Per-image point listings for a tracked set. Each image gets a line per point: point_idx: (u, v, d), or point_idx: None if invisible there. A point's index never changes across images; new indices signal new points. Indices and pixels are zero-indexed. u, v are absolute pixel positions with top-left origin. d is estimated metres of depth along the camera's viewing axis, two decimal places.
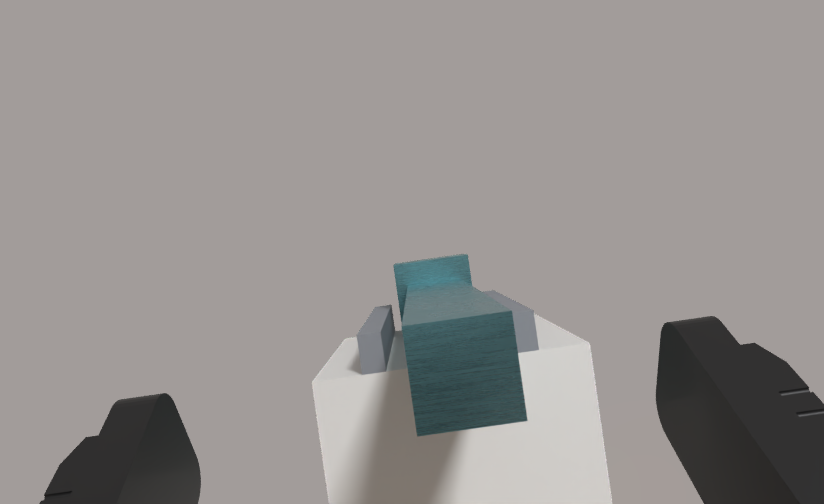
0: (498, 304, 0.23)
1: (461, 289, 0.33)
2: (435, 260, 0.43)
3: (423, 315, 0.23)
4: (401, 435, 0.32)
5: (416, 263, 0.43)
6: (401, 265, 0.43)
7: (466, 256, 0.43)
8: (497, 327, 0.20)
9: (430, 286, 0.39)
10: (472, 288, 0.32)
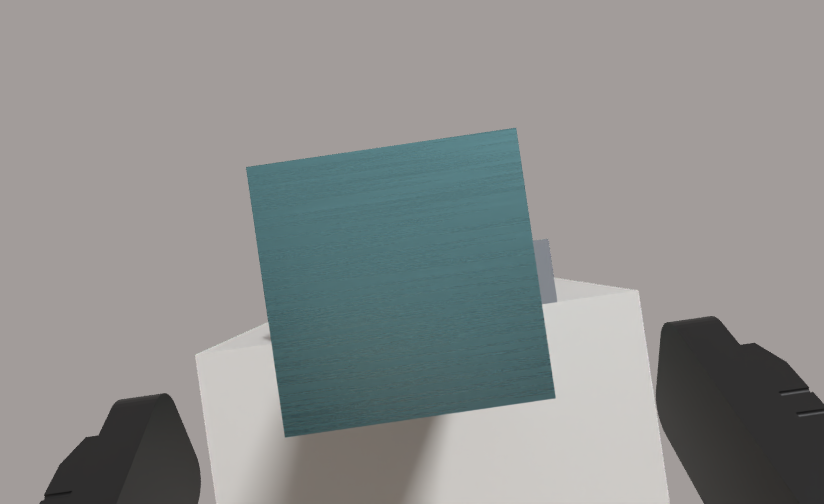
0: None
1: None
2: None
3: None
4: (338, 438, 0.20)
5: None
6: None
7: None
8: (480, 169, 0.08)
9: None
10: None
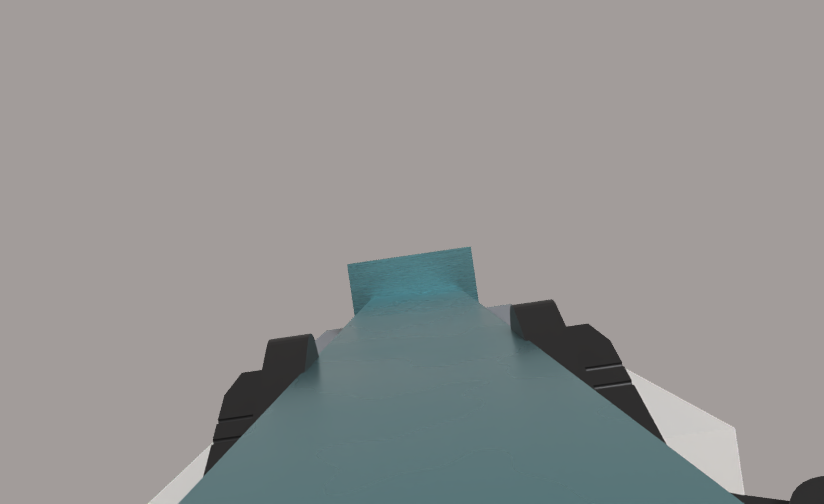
0: (607, 410, 0.05)
1: (459, 312, 0.15)
2: (417, 256, 0.26)
3: (294, 459, 0.05)
4: None
5: (385, 261, 0.26)
6: (360, 265, 0.26)
7: (468, 249, 0.26)
8: None
9: (404, 301, 0.22)
10: (482, 311, 0.15)
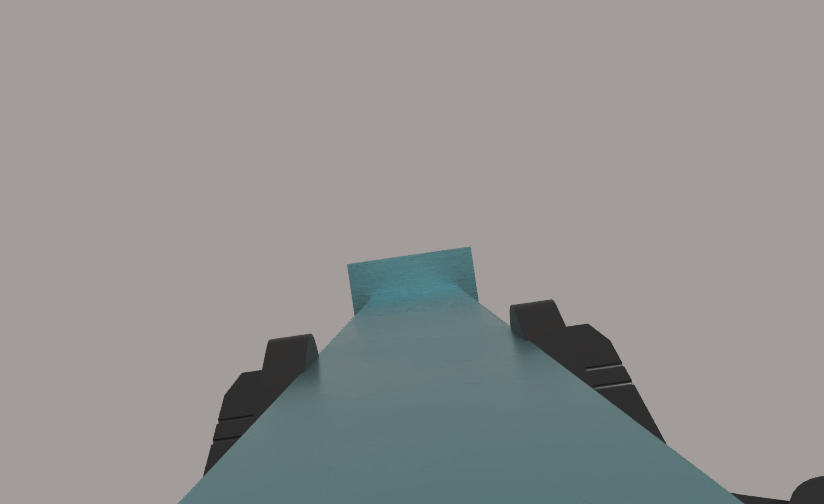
0: (607, 410, 0.06)
1: (459, 312, 0.15)
2: (417, 256, 0.26)
3: (294, 459, 0.05)
4: None
5: (385, 261, 0.26)
6: (360, 265, 0.26)
7: (468, 249, 0.26)
8: None
9: (404, 301, 0.22)
10: (482, 311, 0.15)
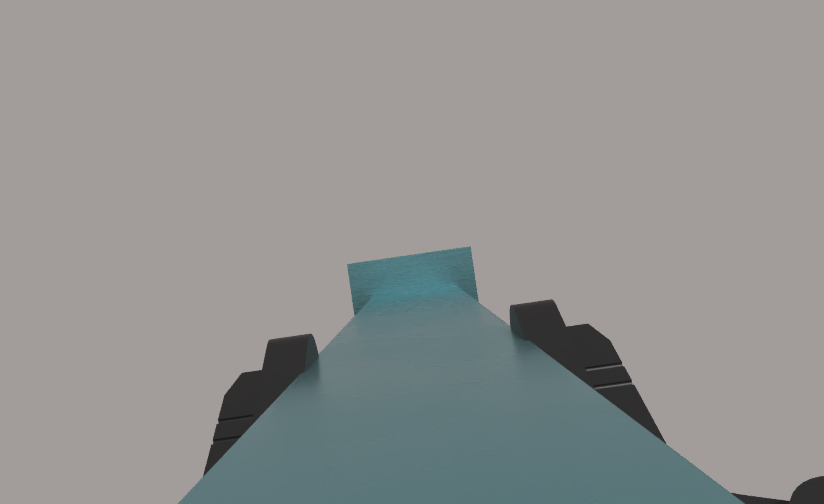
0: (607, 411, 0.06)
1: (459, 312, 0.15)
2: (417, 256, 0.26)
3: (294, 460, 0.05)
4: None
5: (385, 261, 0.26)
6: (360, 264, 0.26)
7: (468, 249, 0.26)
8: None
9: (404, 301, 0.22)
10: (482, 311, 0.15)
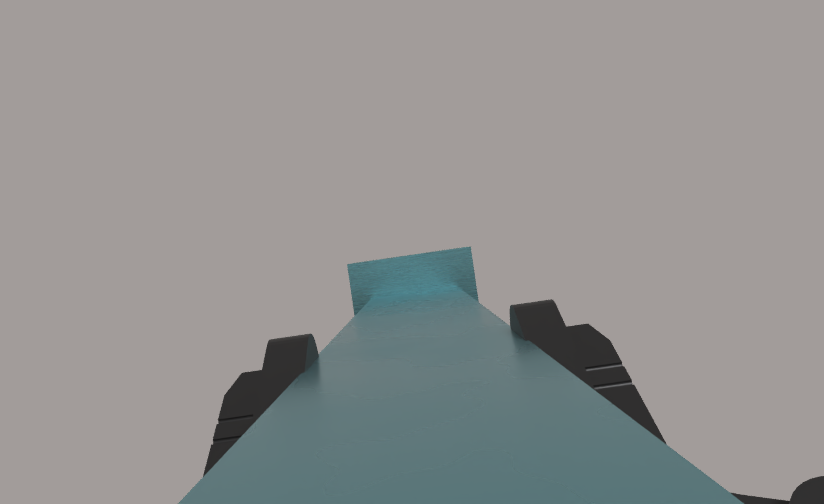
0: (608, 411, 0.05)
1: (459, 312, 0.15)
2: (417, 256, 0.26)
3: (294, 460, 0.05)
4: None
5: (385, 261, 0.26)
6: (360, 264, 0.26)
7: (468, 249, 0.26)
8: None
9: (404, 301, 0.22)
10: (482, 311, 0.15)
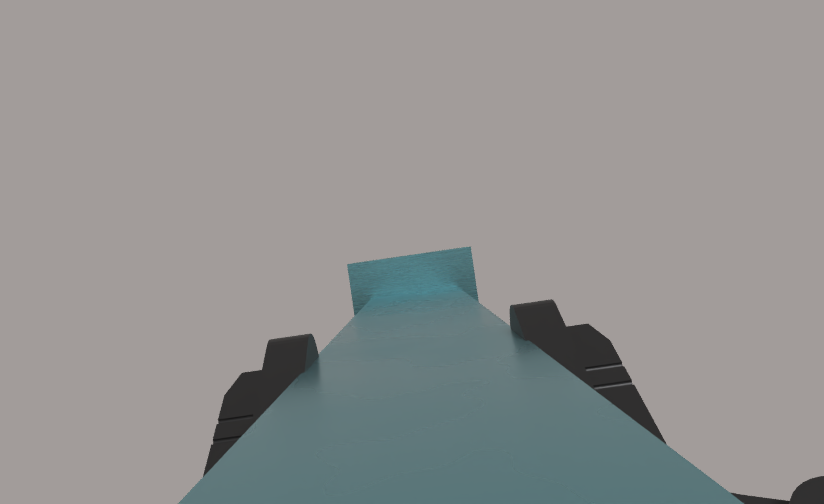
0: (608, 411, 0.05)
1: (459, 312, 0.15)
2: (417, 256, 0.26)
3: (294, 460, 0.05)
4: None
5: (385, 261, 0.26)
6: (360, 264, 0.26)
7: (468, 249, 0.26)
8: None
9: (404, 301, 0.22)
10: (482, 311, 0.15)
